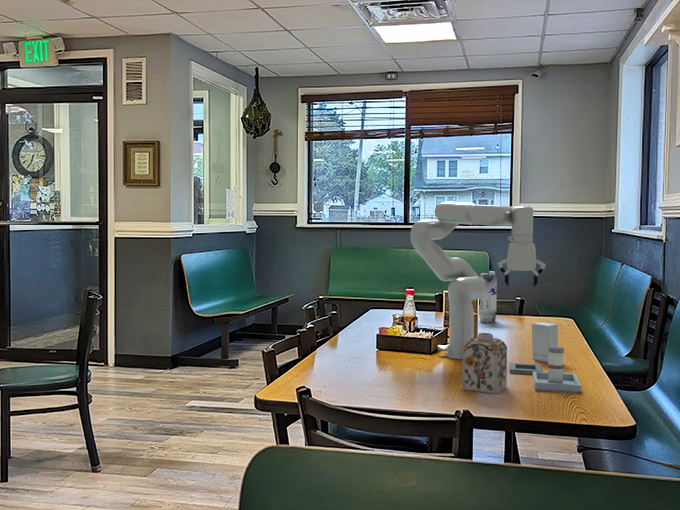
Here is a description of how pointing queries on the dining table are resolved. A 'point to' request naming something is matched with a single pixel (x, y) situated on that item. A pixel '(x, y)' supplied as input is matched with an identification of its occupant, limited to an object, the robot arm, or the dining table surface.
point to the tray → (569, 383)
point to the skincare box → (543, 340)
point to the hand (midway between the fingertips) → (520, 285)
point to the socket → (524, 368)
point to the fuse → (555, 365)
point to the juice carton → (488, 298)
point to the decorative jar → (484, 364)
